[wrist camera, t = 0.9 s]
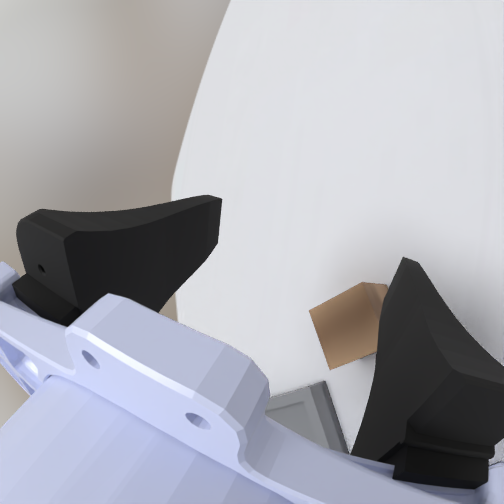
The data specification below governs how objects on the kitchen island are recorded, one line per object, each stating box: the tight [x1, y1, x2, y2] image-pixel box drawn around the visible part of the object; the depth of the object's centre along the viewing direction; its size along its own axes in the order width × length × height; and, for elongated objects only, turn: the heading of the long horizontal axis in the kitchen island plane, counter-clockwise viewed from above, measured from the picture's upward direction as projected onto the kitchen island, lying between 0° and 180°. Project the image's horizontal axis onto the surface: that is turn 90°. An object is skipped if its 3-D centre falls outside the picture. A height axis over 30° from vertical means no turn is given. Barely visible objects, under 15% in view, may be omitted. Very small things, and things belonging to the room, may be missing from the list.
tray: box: [265, 381, 349, 454], centre depth 26 cm, size 12×12×2 cm
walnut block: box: [309, 282, 388, 370], centre depth 22 cm, size 4×4×5 cm
